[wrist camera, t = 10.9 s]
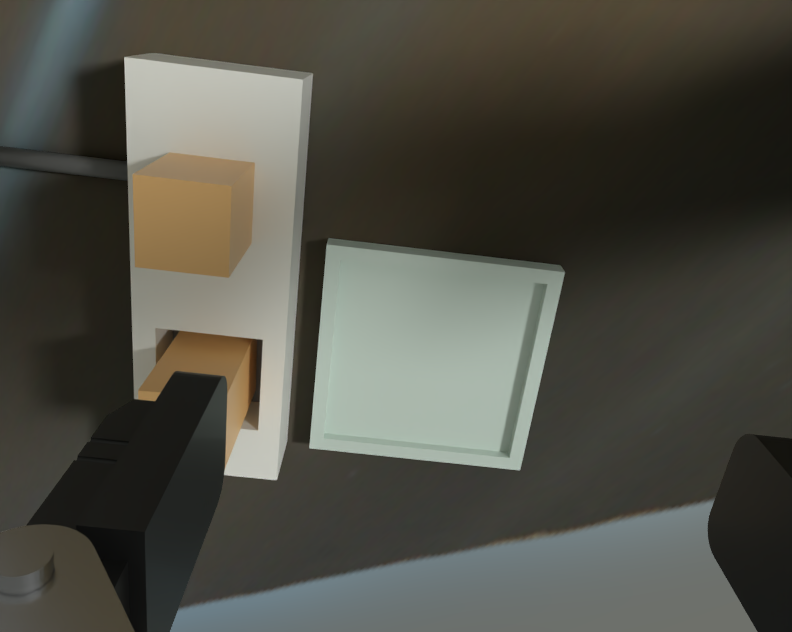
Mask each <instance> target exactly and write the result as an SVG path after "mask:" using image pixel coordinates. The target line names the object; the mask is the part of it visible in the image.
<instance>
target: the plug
mask: <svg viewBox="0 0 792 632" xmlns="http://www.w3.org/2000/svg"><path fill="white" fill-rule="evenodd" d="M256 363H257V339H251V338H242V337H233V336H224V335H215V334H206V333H197V332H188V331H179V333H178V334H177V336H176V337H175V338H174V340H173V341H172V343H171V344H170V346H169V347H168V348H167V350H166V351H165V353H164V354H163V356H162V357H161V358H160V360H159V361H158V363H157V364H156V365H155V367H154V368H153V370H152V371H151V373H150V374H149V375H148V377H147V378H146V380H145V381H144V383H143V384H142V385H141V387H140V388H139V390H138V399H139V400H148V401H156V399H157V398H158V396H159V394H160V393H161V391H162V390H163V388H164V387H165V385H166V384H167V382H168V380H169V379H170V377H171V376H172V374H173V373H174V372H175V371H183V372H193V373H202V374H211V375H220V376H225V377H226V380H227V420H226V453H225V468H226V465H227V462H228V460H229V457H230V455H231V452H232V450H233V447H234V444H235V442H236V439H237V437H238V434H239V432H240V429H241V426H242V424H243V421H244V419H245V416H246V414H247V411H248V408H249V406H250V403H251V401H252V398H253V395H254V393H255V390H256Z"/></svg>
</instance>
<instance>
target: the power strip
mask: <svg viewBox="0 0 792 632" xmlns="http://www.w3.org/2000/svg"><path fill="white" fill-rule="evenodd" d="M124 65H125V99H126V134H127V161H119V160H111V159H103V158H94V157H86V156H78V155H70V154H61V153H53V152H45V151H36V150H28V149H20V148H11V147H3V146H0V166H7V167H15V168H24V169H32V170H40V171H49V172H57V173H66V174H74V175H82V176H91V177H99V178H107V179H116V180H124V181H128V203H129V238H130V272H131V307H132V341H133V376H134V399H138V390H139V388H140V387H141V385H142V384H143V383H144V381H145V380H146V378H147V377H148V375H149V374H150V373H151V371H152V370H153V368H154V367H155V365H156V364H157V363H158V361H159V360H160V358H161V357H162V356H163V354H164V353H165V351H166V350H167V348H168V347H169V346H170V344H171V343H172V341H173V340H174V338H175V337H176V336H177V334H178V333H179V331H188V332H197V333H206V334H215V335H224V336H233V337H242V338H251V339H257V363H256V390H255V393H254V395H253V398H252V401H251V403H250V406H249V408H248V411H247V414H246V416H245V419H244V421H243V424H242V426H241V429H240V432H239V434H238V437H237V439H236V442H235V444H234V447H233V450H232V452H231V455H230V457H229V460H228V462H227V465H226V468H225V471H224V475H230V476H240V477H250V478H259V479H269V480H277V478H278V474H279V470H280V466H281V463H282V459H283V455H284V451H285V448H286V444H287V436H288V422H289V408H290V394H291V379H292V365H293V351H294V337H295V322H296V308H297V294H298V280H299V266H300V251H301V237H302V223H303V209H304V195H305V180H306V166H307V152H308V138H309V124H310V109H311V95H312V81H313V73H308V72H300V71H292V70H284V69H276V68H268V67H261V66H253V65H245V64H237V63H229V62H221V61H213V60H205V59H198V58H190V57H182V56H174V55H166V54H158V53H149V54H142V55H135V56H128V57H124Z"/></svg>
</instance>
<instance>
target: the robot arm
mask: <svg viewBox="0 0 792 632" xmlns="http://www.w3.org/2000/svg"><path fill="white" fill-rule="evenodd" d="M226 420H227V380H226V377H225V376H220V375H211V374H202V373H193V372H183V371H175V372H174V373H173V374H172V376H171V377H170V379H169V380H168V382H167V384H166V385H165V387H164V388H163V390H162V391H161V393H160V394H159V396H158V398H157V399H156V401H148V400H139V399H134V400H132V401H131V402H129V403H127V404H126V405H124V406H122V407H121V408H119V409H118V410H116V411H114V412H113V413H111V414H109V415H108V416H107V417H106V418H105V419H104V421H103V422H102V423H101V425H100V426H99V427H98V429H97V430H96V431H95V433H94V434H93V436H92V437H91V441H90V442H87V444H86V445H85V446H84V448H83V449H82V450H81V452H80V453H79V455H78V458H77V461H75V460H74V461H73V463H72V464H71V465H70V467H69V468H68V470H67V471H66V472H65V474H64V475H63V476H62V478H61V479H60V480H59V482H58V483H57V484H56V486H55V487H54V489H53V490H52V491H51V493H50V494H49V495H48V497H47V498H46V499H45V501H44V502H43V503H42V505H41V506H40V508H39V509H38V510H37V512H36V513H35V514H34V516H33V517H32V518H31V520H30V521H29V522H28V524H27V525H26V526H22V527H18V528H14V529H10V530H7V531H4V532H1V533H0V632H170V629H171V627H172V624H173V621H174V619H175V616H176V613H177V611H178V608H179V605H180V603H181V600H182V597H183V595H184V592H185V589H186V587H187V584H188V581H189V579H190V576H191V573H192V571H193V568H194V565H195V563H196V560H197V557H198V555H199V552H200V549H201V547H202V544H203V542H204V539H205V536H206V534H207V531H208V528H209V526H210V523H211V520H212V518H213V515H214V512H215V510H216V507H217V504H218V501H219V498H220V494H221V489H222V484H223V478H224V471H225V453H226ZM708 539H709V544H710V548H711V551H712V553H713V555H714V557H715V559H716V561H717V563H718V564H719V566H720V568H721V569H722V571H723V573H724V575H725V576H726V578H727V580H728V581H729V583H730V585H731V587H732V588H733V590H734V592H735V594H736V595H737V597H738V599H739V600H740V602H741V604H742V606H743V607H744V609H745V611H746V613H747V614H748V616H749V618H750V619H751V621H752V623H753V624H754V626H755V628H756V630H757V631H758V632H792V439H790V438H781V437H771V436H762V435H753V434H746V435H744V436H742V437H741V438H740V439H739V440H738V441H737V443H736V444H735V447H734V449H733V452H732V454H731V457H730V460H729V463H728V465H727V468H726V471H725V474H724V476H723V479H722V482H721V485H720V487H719V490H718V493H717V496H716V498H715V501H714V504H713V507H712V509H711V512H710V515H709V521H708Z"/></svg>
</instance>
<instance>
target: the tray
mask: <svg viewBox="0 0 792 632" xmlns="http://www.w3.org/2000/svg"><path fill="white" fill-rule="evenodd" d="M564 274H565V272H564V270H563V268H562V267H561V265H555V264H546V263H538V262H529V261H521V260H512V259H504V258H495V257H487V256H478V255H470V254H461V253H453V252H444V251H436V250H427V249H419V248H410V247H402V246H393V245H385V244H376V243H367V242H359V241H350V240H342V239H333V238H329V239H328V242H327V247H326V259H325V270H324V282H323V294H322V305H321V317H320V329H319V341H318V352H317V364H316V376H315V388H314V399H313V411H312V423H311V434H310V446H309V448H313V449H322V450H332V451H341V452H351V453H360V454H370V455H379V456H389V457H398V458H408V459H417V460H427V461H437V462H446V463H456V464H465V465H475V466H484V467H494V468H503V469H513V470H520V468H521V464H522V459H523V455H524V450H525V446H526V442H527V437H528V433H529V428H530V424H531V420H532V415H533V411H534V406H535V402H536V398H537V393H538V389H539V384H540V380H541V376H542V371H543V367H544V362H545V358H546V354H547V349H548V345H549V340H550V336H551V332H552V327H553V323H554V318H555V314H556V310H557V305H558V301H559V296H560V292H561V288H562V283H563V279H564Z"/></svg>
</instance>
